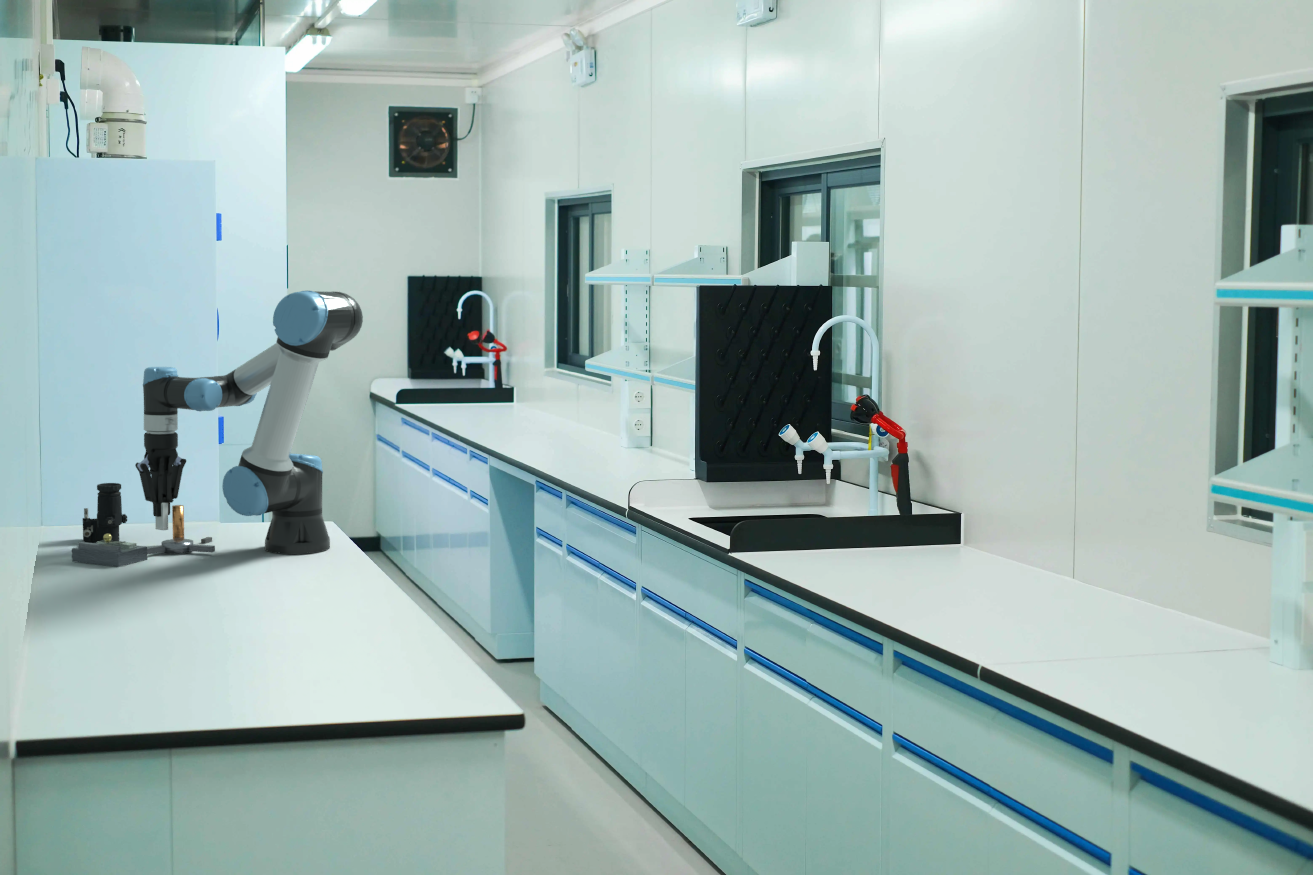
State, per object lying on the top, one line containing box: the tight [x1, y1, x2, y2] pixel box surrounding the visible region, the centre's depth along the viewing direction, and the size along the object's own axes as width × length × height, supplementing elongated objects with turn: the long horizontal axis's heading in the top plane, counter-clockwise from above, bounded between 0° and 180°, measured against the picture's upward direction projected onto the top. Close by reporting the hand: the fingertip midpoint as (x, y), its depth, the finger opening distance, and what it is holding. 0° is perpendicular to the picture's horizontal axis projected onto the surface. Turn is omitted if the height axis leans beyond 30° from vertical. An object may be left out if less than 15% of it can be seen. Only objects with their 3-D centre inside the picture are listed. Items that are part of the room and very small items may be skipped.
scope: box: [82, 482, 128, 543], centre depth 311 cm, size 8×14×10 cm
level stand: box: [71, 534, 148, 568], centre depth 290 cm, size 13×9×6 cm
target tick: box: [200, 536, 213, 545], centre depth 313 cm, size 3×1×1 cm, turn 168°
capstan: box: [146, 504, 216, 556], centre depth 302 cm, size 16×17×9 cm
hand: (161, 529), depth 307 cm, fingers closed
